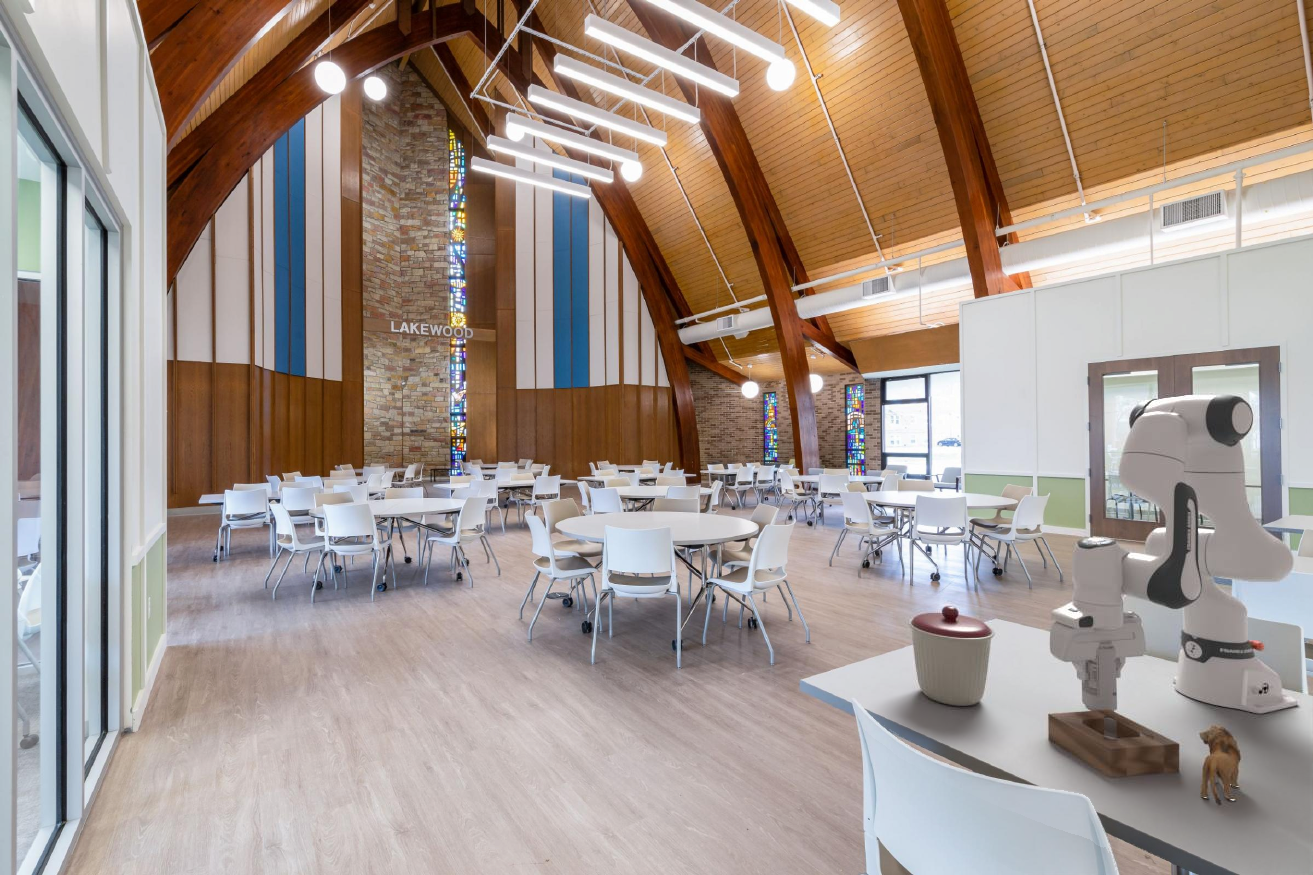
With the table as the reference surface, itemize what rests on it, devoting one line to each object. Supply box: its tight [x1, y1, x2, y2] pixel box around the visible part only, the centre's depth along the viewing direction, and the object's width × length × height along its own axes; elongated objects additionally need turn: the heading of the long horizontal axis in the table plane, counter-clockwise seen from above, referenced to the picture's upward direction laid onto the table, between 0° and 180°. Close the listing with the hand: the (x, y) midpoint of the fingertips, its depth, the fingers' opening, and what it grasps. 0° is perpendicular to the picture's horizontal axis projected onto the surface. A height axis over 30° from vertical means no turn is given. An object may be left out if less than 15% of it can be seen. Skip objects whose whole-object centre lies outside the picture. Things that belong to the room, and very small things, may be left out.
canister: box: [907, 605, 996, 707], centre depth 140 cm, size 18×18×21 cm
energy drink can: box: [1081, 641, 1118, 712], centre depth 128 cm, size 6×6×15 cm
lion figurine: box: [1198, 724, 1242, 807], centre depth 102 cm, size 15×5×9 cm, turn 138°
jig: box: [1047, 710, 1180, 778], centre depth 114 cm, size 14×14×5 cm
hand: (1098, 678), depth 128 cm, fingers closed on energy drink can, 6 cm apart
